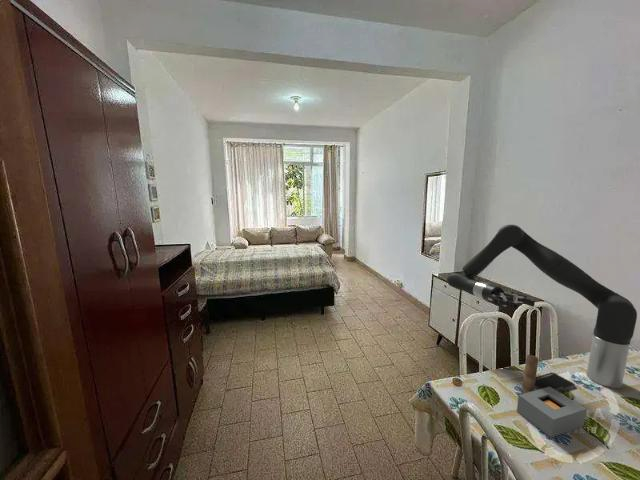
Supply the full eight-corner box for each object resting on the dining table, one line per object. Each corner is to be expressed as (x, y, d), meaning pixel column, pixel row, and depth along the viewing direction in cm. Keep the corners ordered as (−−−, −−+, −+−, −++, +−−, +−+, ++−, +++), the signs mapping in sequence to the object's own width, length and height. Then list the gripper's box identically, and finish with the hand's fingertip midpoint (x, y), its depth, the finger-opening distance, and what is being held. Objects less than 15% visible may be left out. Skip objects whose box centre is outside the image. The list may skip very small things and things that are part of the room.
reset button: (547, 410, 85) (548, 399, 84) (559, 419, 81) (561, 408, 81) (538, 413, 84) (540, 402, 83) (551, 422, 80) (553, 410, 80)
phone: (525, 380, 99) (552, 372, 104) (525, 382, 99) (552, 374, 104) (549, 394, 92) (577, 385, 96) (548, 397, 92) (576, 388, 96)
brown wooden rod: (526, 389, 95) (531, 354, 93) (535, 395, 92) (540, 359, 90) (519, 390, 95) (524, 355, 92) (528, 397, 92) (534, 360, 89)
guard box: (547, 402, 89) (549, 386, 88) (583, 426, 80) (586, 408, 79) (516, 411, 85) (518, 395, 84) (550, 437, 76) (553, 419, 75)
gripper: (475, 285, 112) (512, 298, 97) (500, 282, 116) (540, 293, 101) (474, 302, 113) (511, 317, 98) (499, 298, 117) (538, 312, 102)
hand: (525, 305), depth 99 cm, fingers open, 8 cm apart
